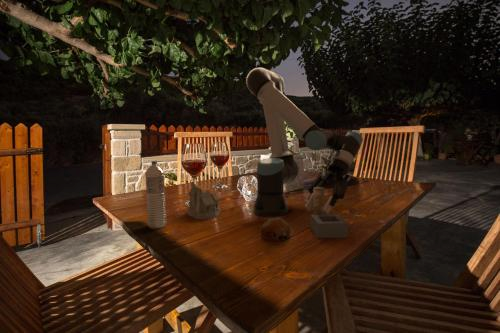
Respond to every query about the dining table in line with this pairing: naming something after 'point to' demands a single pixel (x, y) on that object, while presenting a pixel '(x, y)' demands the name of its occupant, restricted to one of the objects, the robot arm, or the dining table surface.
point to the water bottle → (155, 196)
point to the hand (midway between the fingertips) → (316, 210)
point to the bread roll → (275, 230)
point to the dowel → (318, 201)
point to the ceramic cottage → (202, 203)
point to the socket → (329, 226)
